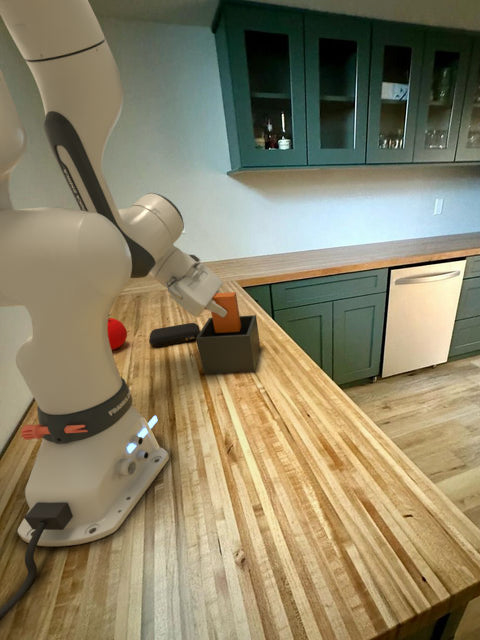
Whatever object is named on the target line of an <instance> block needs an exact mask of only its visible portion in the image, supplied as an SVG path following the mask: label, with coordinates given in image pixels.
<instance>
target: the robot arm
mask: <svg viewBox="0 0 480 640" xmlns="http://www.w3.org/2000/svg"><path fill="white" fill-rule="evenodd" d="M0 17H1V19H2V21H3V23H4V25H5V27H6V28H7V30H8V32H9V34H10V36H11V38H12V40H13V42H14V44H15V45H16V47H17V49H18V50H19V52H20V54H21V56H22V57H23V59H24V61H25V62H26V65H27V66H28V68H29V70H30V72H31V74H32V76H33V79H34V81H35V83H36V85H37V88H38V91H39V95H40V97H41V102H42V105H43V111H44V115H45V117H44V121H43V132H44V135H45V138H46V140H47V143H48V146H49V148H50V150H51V153H52V155H53V157H54V159H55V161H56V163H57V165H58V167H59V169H60V172H61V174H62V176H63V178H64V180H65V182H66V184H67V187H68V188H69V190H70V192H71V194H72V196H73V198H74V201H75V203H76V204H77V206H78V208H79V209H77V208H76V209H75V208H67V207H62V206H61V207H60V206H47V207H46V206H45V207H33V208H30V207H29V208H17V209H15V207H14V204H13V199H12V194H11V179H12V175H13V171H14V170H15V168H16V166H17V165H18V164H19V163H20V162H21V161H22V160H23V159H24V158H25V156H26V154H27V149H28V137H27V132H26V130H25V127H24V124H23V122H22V120H21V117H20V114H19V112H18V110H17V107H16V103H15V102H14V99H13V97H12V94H11V92H10V89H9V86H8V84H7V82H6V79H5V76H4V73H3V72H2V69H1V68H0V308H13V307H24V308H25V309H26V311H27V313H28V314H29V317H30V321H31V326H32V327H31V328H32V335H31V336H30V337H28V338H27V339H26V340H25V341H24V342H23V343H22V344H21V346H20V348H19V349H18V350H17V352H16V355H15V365H16V368H17V370H18V371H19V373H20V375H21V377H22V379H23V380H24V382H25V384H26V386H27V388H28V389H29V391H30V393H31V395H32V397H33V398H34V401H35V402H36V404H37V419H38V423H37V424H24V425H23V426H22V428H20V429H21V430H20V436H21V438H22V440H33V439H36V440H40V439H42V440H41V443H40V446H39V449H38V452H37V454H36V457H35V460H34V462H33V466H32V469H31V472H30V475H29V478H28V480H27V483H26V485H25V488H24V497H25V500H26V503H27V505H28V508H29V509H28V510H27V513H26V514H25V515H24V517H23V520H22V521H21V523H20V524H19V526H18V528H17V534H18V536H19V538H20V539H21V540H22V541H24V542H25V543H27V544H28V545H27V547H26V550H25V555H24V564H25V567H26V570H27V576H26V577H25V580H24V582H23V584H22V585H21V587H20V588H19V590H18V591H17V592H16V593H15V594H14V595H13V596H12V597H11V598H10V600H8V602H6V603H5V604H4V605H3V606H2V607H1V608H0V620H1V619H2V618H3V617H4V616H5V615H6V614H7V613H9V612H10V611H11V609H13V607H14V606H15V605H17V603H18V602H19V601H20V600H21V599H22V598H23V597H24V596H25V594H26V593H27V592H28V591H29V590H30V588H31V586H32V585H33V583H34V581H35V578H36V576H37V571H38V567H37V565H36V562H35V552H36V548H37V546H39V547H67V546H69V547H70V546H76V545H82V544H87V543H91V542H94V541H97V540H101V539H102V538H105V537H107V536H110V535H112V534H113V533H115V532H116V531H118V529H119V528H121V526H122V524H124V522H125V520H126V519H127V517H129V515H130V513H132V511H133V509H134V508H135V506H136V505H138V502H139V501H140V499H141V498H143V495H144V494H145V493H146V491H147V490H148V489H149V487H150V486H151V485H152V483H153V482H154V480H155V479H156V478H157V477H158V475H159V473H160V472H161V471H162V469H163V468H164V467H165V466H166V464H167V462H168V461H169V460H170V454H169V453H168V451H167V450H166V449H164V448H163V447H161V446H160V444H159V443H158V440H157V438H156V437H155V435H154V433H153V430H152V428H153V427H154V426H155V424H156V423H158V417H157V415H154V416H152V418H151V419H150V420H149V422H148V421H147V419H146V418H145V417H144V416H143V415H142V414H141V413H140V412H139V410H138V409H137V408H136V407H135V406H134V404H133V396H132V394H131V390H130V387H129V385H128V384H127V381H126V380H125V379H124V378H123V377H122V376H121V374H120V371H119V369H118V365H117V363H116V360H115V357H114V354H113V350H111V347H110V343H109V339H108V330H107V326H108V318H109V317H110V316H109V315H110V312H111V310H112V306H113V304H114V302H115V301H116V299H118V297H119V296H120V295H121V294H122V293H123V291H124V290H125V289H126V287H127V286H128V284H129V282H130V280H131V279H142V278H146V277H147V276H148V275H150V276H151V277H152V278H153V279H154V280H155V281H156V282H158V283H159V284H160V285H162V286H163V287H164V288H166V289H167V292H168V293H169V294H170V297H171V298H172V300H173V301H174V302H175V303H177V305H179V306H180V307H181V308H182V309H183V310H185V311H186V312H187V313H188V314H190V315H191V316H194V317H195V318H196V317H197V318H200V316H201V314H202V313H203V312H204V310H205V308H206V310H208V311H209V312H210V313H211V312H214V313H217V314H218V315H220V316H221V317H225V315H226V314H227V312H228V310H227V309H225V308H224V307H223V306H222V307H221V306H219V305H217V304H216V302H215V301H213V300H212V298H213V297H214V295H215V294H216V293H221V292H220V291H219V290H220V288H221V287H222V286H223V285H224V282H223V280H222V279H221V278H220V276H218V275H217V274H216V273H215V272H214V271H212V270H211V268H209V267H208V266H207V265H205V264H204V263H201V261H202V260H201V258H200V257H198V256H197V255H196V254H190V253H188V252H184V251H182V250H181V248H179V247H177V246H175V245H174V244H175V243H176V242H177V241H178V240H179V238H180V237H181V236H182V234H183V231H184V229H185V223H184V217H183V215H182V213H181V211H180V210H179V208H178V207H177V206H176V204H174V202H172V201H171V200H170V199H168V198H167V197H166V196H164V195H162V194H160V193H155V192H148V193H147V194H144V195H143V196H141V197H140V198H139V199H137V200H136V201H135V202H133V204H131V205H130V206H129V207H127V208H120V209H118V207H117V204H116V202H115V200H114V197H113V195H112V193H111V190H110V188H109V185H108V183H107V180H106V177H105V174H104V167H103V158H104V154H105V150H106V146H107V143H108V141H109V139H110V136H111V134H112V133H113V130H114V128H115V126H116V125H117V123H118V121H119V118H120V116H121V114H122V111H123V105H124V99H125V91H124V87H123V86H124V85H123V80H122V77H121V73H120V70H119V67H118V65H117V62H116V60H115V57H114V55H113V52H112V50H111V48H110V46H109V44H108V41H107V39H106V37H105V34H104V31H103V29H102V27H101V24H100V23H99V21H98V18H97V16H96V15H95V12H94V10H93V8H92V6H91V3H90V2H89V0H0ZM108 316H109V317H108Z"/></svg>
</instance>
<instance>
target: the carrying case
mask: <svg viewBox="0 0 480 640" xmlns="http://www.w3.org/2000/svg"><path fill="white" fill-rule="evenodd" d="M200 331H201V329H200V326H199V325H198V324H197V323H195V322H188V323H182V324H177V325H176V324H175V325H171V326H170V325H169V326H165V327H159V328H154V329H152V330H151V332H150V333H149V340H148V342H149V344H150V345H151V346H153V347H162V346H168V345H173V344H179V343H185V342H189V341H194V340H195V341H196V337H197V336H198V334H199V333H200Z"/></svg>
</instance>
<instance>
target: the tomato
mask: <svg viewBox="0 0 480 640" xmlns="http://www.w3.org/2000/svg"><path fill="white" fill-rule="evenodd" d="M111 315H112V314H111V313H109V316H108V326H107V330H108V339H109V343H110V347H111V350H112V351H114V350H116V349H119V348H120V347H121V346H123V344H125V342H126V341H127V338H128V330H127V329H126V327H125V325H124V324H123V322H121V321H120V320H119V319H116V318H113V317H110V316H111Z"/></svg>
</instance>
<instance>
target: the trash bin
mask: <svg viewBox="0 0 480 640" xmlns="http://www.w3.org/2000/svg"><path fill="white" fill-rule="evenodd" d="M240 322H241V329H240V331H239V332H224V333H215V329H214V324H213V319H212V317H209V318H208V319H207V321H206V322H205V323H204V325H203V327H202V328H201V329H200V333H199V334H198V336H197V337H196V339H195V341H196V345H197V350H198V356H199V359H200V363H201V368H202V371H203V375H215V374H234V373H235V374H236V373H253V372H256V368H257V364H258V363H257V362H258V359H259V355H260V351H261V342H260V336H259V333H260V332H259V326H258V320H257V315H256V314H254V315H253V314H252V315H240Z"/></svg>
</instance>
